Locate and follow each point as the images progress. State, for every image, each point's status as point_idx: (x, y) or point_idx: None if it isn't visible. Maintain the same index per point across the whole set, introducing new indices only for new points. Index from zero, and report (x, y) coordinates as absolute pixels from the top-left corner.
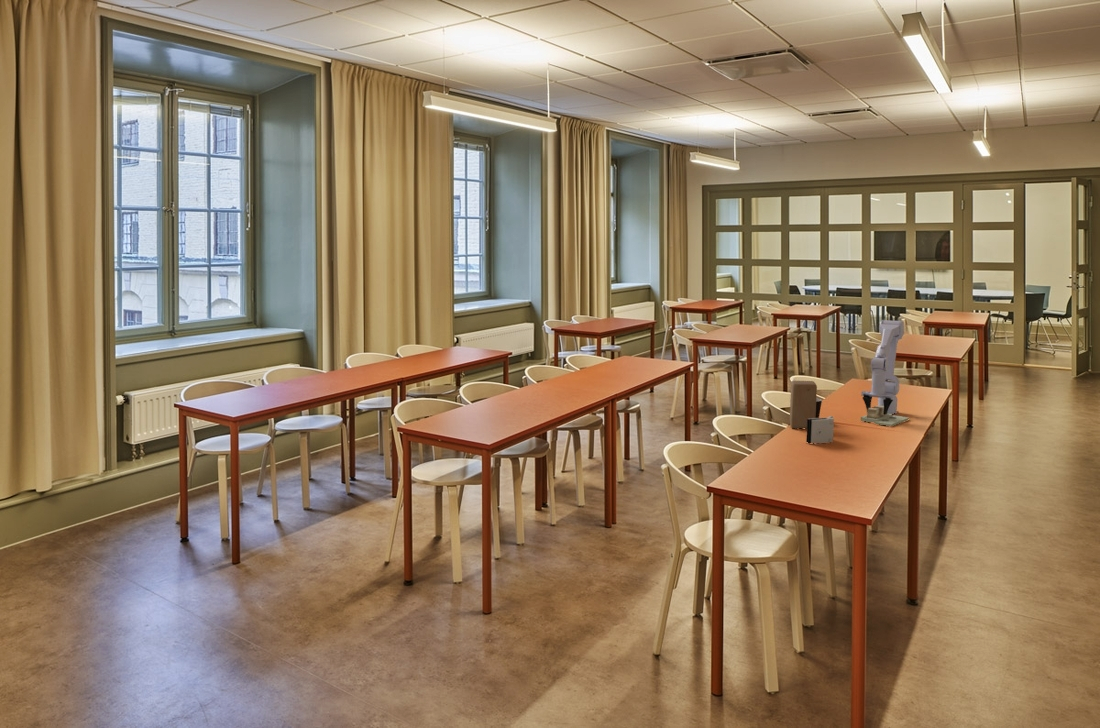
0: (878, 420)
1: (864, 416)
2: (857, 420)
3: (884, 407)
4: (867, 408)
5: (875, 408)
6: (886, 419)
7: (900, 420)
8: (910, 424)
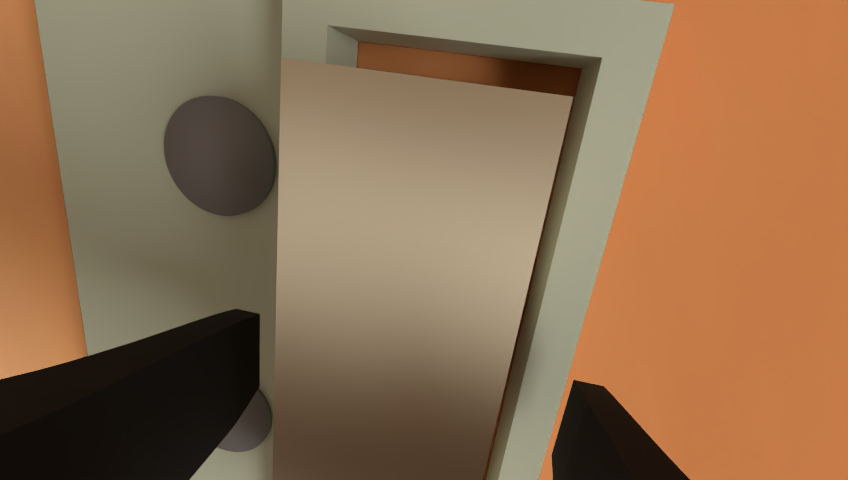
0: (295, 51)
1: (603, 146)
2: (712, 102)
3: (101, 372)
4: (620, 431)
5: (358, 326)
6: (245, 255)
7: (86, 293)
8: (14, 267)
